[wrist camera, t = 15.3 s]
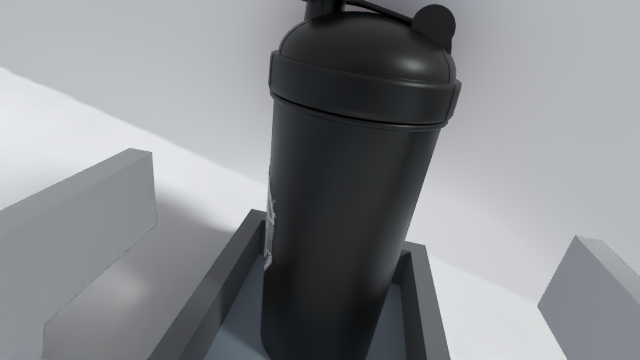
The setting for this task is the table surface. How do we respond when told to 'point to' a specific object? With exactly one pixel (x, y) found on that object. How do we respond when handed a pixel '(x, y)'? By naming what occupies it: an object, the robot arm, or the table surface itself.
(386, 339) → the walled base tray
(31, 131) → the table surface
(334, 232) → the water bottle
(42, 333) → the mounting bracket
